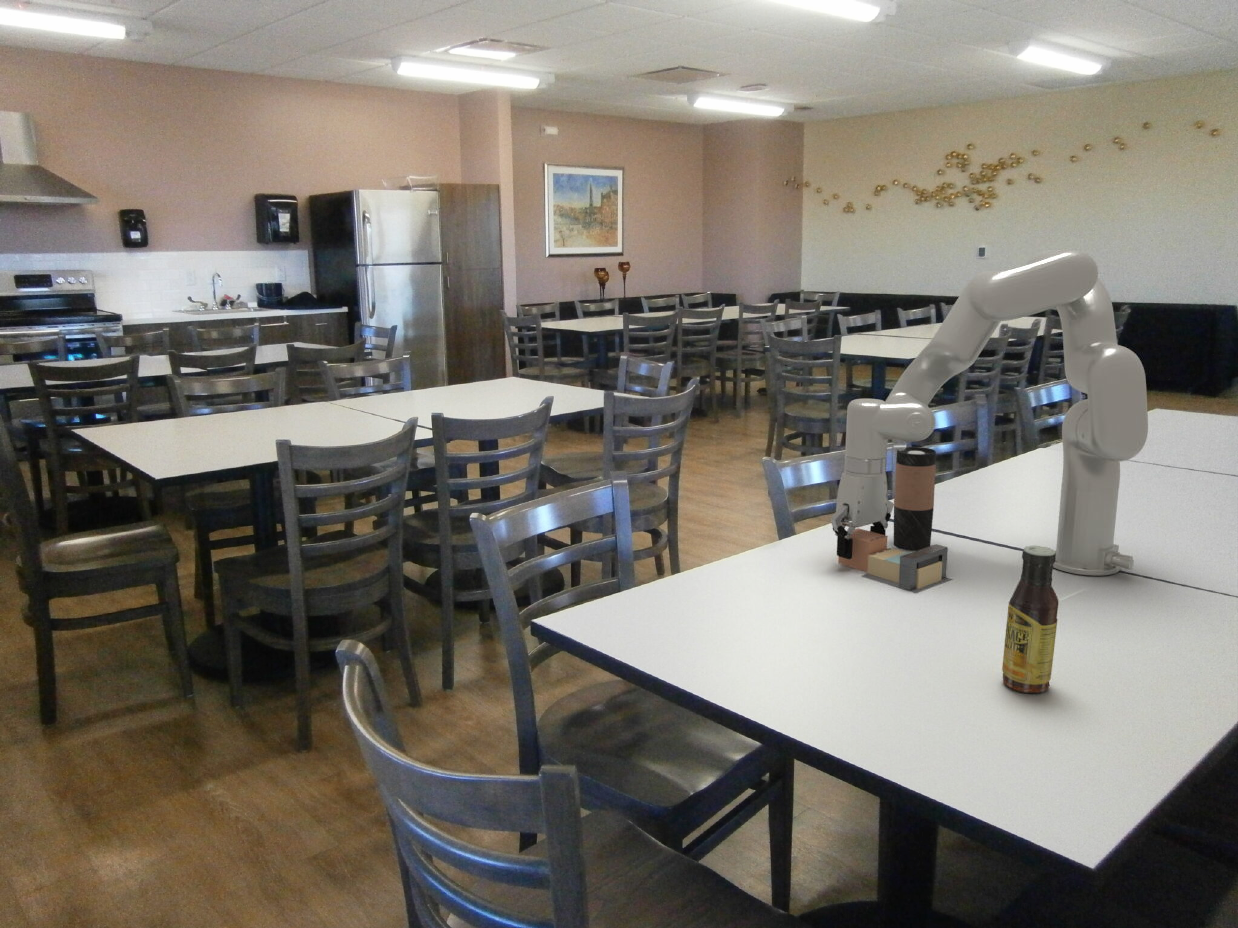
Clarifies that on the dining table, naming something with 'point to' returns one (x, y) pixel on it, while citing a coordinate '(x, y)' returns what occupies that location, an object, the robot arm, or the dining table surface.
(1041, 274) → the robot arm
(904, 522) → the travel mug
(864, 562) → the stub
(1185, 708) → the dining table surface
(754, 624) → the dining table surface
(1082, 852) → the dining table surface
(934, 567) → the tan and teal block
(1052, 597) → the sauce bottle
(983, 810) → the dining table surface
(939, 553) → the grey rectangular collar
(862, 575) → the mat
